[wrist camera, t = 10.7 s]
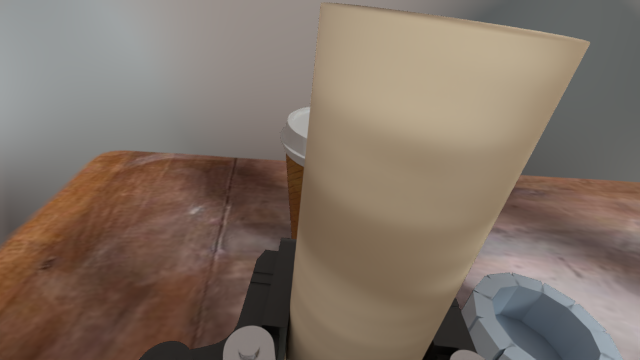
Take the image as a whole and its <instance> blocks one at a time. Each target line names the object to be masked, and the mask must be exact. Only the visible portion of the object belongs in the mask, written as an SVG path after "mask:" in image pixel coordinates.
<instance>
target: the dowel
mask: <svg viewBox="0 0 640 360" xmlns="http://www.w3.org/2000/svg"><path fill="white" fill-rule="evenodd" d="M589 44H590V42H588V41H585V40H581V39H576V38H571V37H566V36H561V35H556V34H551V33H544V32H539V31H533V30H528V29H522V28H516V27H509V26H503V25H497V24H490V23H483V22H477V21H471V20H464V19H457V18H450V17H444V16H436V15H429V14H422V13H415V12H408V11H400V10H392V9H384V8H376V7H367V6H359V5H349V4H339V3H321V7H320V16H319V27H318V36H317V45H316V55H315V65H314V76H313V85H312V94H311V105H310V114H309V124H308V134H307V144H306V153H305V163H304V173H303V183H302V193H301V202H300V212H299V222H298V232H297V242H296V251H295V261H294V271H293V281H292V291H291V300H290V314H289V324H288V333H287V343H286V353H285V360H422V359H423V357H424V355H425V353H426V351H427V349H428V347H429V345H430V344H431V342H432V340H433V338H434V336H435V334H436V332H437V330H438V329H439V327H440V325H441V323H442V321H443V319H444V317H445V315H446V313H447V312H448V310H449V308H450V306H451V304H452V302H453V300H454V298H455V297H456V295H457V293H458V291H459V289H460V287H461V285H462V283H463V281H464V280H465V278H466V276H467V274H468V272H469V270H470V268H471V266H472V265H473V263H474V261H475V259H476V257H477V255H478V253H479V251H480V249H481V248H482V246H483V244H484V242H485V240H486V238H487V236H488V234H489V233H490V231H491V229H492V227H493V225H494V223H495V221H496V219H497V217H498V216H499V214H500V212H501V210H502V208H503V206H504V204H505V202H506V201H507V199H508V197H509V195H510V193H511V191H512V189H513V187H514V185H515V184H516V182H517V180H518V178H519V176H520V174H521V172H522V170H523V169H524V167H525V165H526V163H527V161H528V159H529V157H530V155H531V153H532V151H533V150H534V148H535V146H536V144H537V142H538V140H539V138H540V137H541V135H542V133H543V131H544V129H545V127H546V125H547V123H548V121H549V119H550V118H551V116H552V114H553V112H554V110H555V108H556V106H557V104H558V103H559V101H560V99H561V97H562V95H563V93H564V91H565V89H566V88H567V86H568V84H569V82H570V80H571V78H572V76H573V74H574V73H575V71H576V69H577V67H578V65H579V63H580V61H581V59H582V57H583V55H584V54H585V52H586V50H587V48H588V46H589Z"/></svg>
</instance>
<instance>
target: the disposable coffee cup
mask: <svg viewBox="0 0 640 360" xmlns="http://www.w3.org/2000/svg"><path fill="white" fill-rule="evenodd" d="M309 114H310V107H305V108H301V109H298V110H296V111H294V112H292V113H291V114H290V115H289V116H288V120H287V123H286V126H285V127H284V128H283V129H282V131H281V134H280V139H281V143H282V144H283V147H284V150H285V152H286V162H287V176H288V177H287V178H288V189H289V190H288V192H289V205H290V220H291V232H292V233H291V234H292V239H297V232H298V222H299V212H300V202H301V193H302V183H303V173H304V163H305V153H306V144H307V134H308V124H309Z"/></svg>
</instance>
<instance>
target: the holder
mask: <svg viewBox="0 0 640 360" xmlns="http://www.w3.org/2000/svg"><path fill="white" fill-rule="evenodd" d="M574 303H575V301H574V300H573V299H571V298H569V297H567V296H566V295H564V294H562V293H561V292H559V291H557V290H556V289H554V288H552V287H551V286H549V285H547V284H546V283H544V284H543V285H542V283H541V281H538V280H535V279H532V278H528V277H525V276H521V275H518V274H515V273H512V274H510V273H500V274H490V275H487V276H485V277H484V278H483V279H482V280H481V281H480V283H479V284H478V285H477V286H476V287H475V288H474V290H473V292H472V293H471V295H470V297H469V299H468V300H467V302H466V304H465V306H464V307H463V309H462V311H461V313H462V315H463V318H464V320H465V323H466V326H467V328H468V331H469V333H470V336H471V338H472V341H473V344H474V346H475V349H476V351H477V353H478V355H480V356H482V357H483V358H484V359H486V360H623V359H622V357H621V355H620V353H619V351H618V349H617V347H616V345H615V344H614V342H613V340H612V338H611V336H610V334H608V333H605V332H606V331H607V330H606V329H604V328H603V327H602V326H601V325H600V324H599V323H598V322H597V321H596V320H595V319H594V318H593V317H592V316H591V315H590V314H589V313H588V312H587V311H586V310H585V309H584V308H583V307H582V306H581V305H580V304H576V305H574Z"/></svg>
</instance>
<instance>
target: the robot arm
mask: <svg viewBox="0 0 640 360" xmlns="http://www.w3.org/2000/svg"><path fill="white" fill-rule="evenodd" d="M296 242H297V239H289V238H281V242H280V246H279V251H271V250H265V251H264V252H263V253H262V255H261V256H260V257H259V258H258V259H257V261H256V265H255V268H254V271H253V275H252V278H251V281H250V285H249V288H248V291H247V295H246V298H245V301H244V305H243V308H242V311H241V315H240V318H239V321H238V324H237V326H236V328H235V329H234V331H233V332H232V333H231V334H230V335H229V336H228V337H227V338H226V339H224V340H223V341H221V342H219V343H216V344H214V345H210V346H206V347H201V348H196V349H192V350H189V348H188V347H187V346H186V345H185V344H183V343H181V342H177V341H167V342H163V343H160V344H158V345H156V346H154V347H152V348H151V349H149V350H148V351H147V352H146V353H145V354H144V355H143V356H142V357H141V358H140V359H139V360H285V353H286V343H287V333H288V324H289V314H290V300H291V291H292V281H293V271H294V261H295V251H296ZM422 360H486V359H484V358H483V357H482V356H480V355H478V353H477V351H476V349H475V346H474V344H473V341H472V338H471V336H470V333H469V331H468V328H467V326H466V323H465V320H464V318H463V315H462V313H461V310H460V309H459V305H458V302H457V300H456V298H454V300H453V302H452V304H451V306H450V308H449V310H448V312H447V313H446V315H445V317H444V319H443V321H442V323H441V325H440V327H439V329H438V330H437V332H436V334H435V336H434V338H433V340H432V342H431V344H430V345H429V347H428V349H427V351H426V353H425V355H424V357H423V359H422Z"/></svg>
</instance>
